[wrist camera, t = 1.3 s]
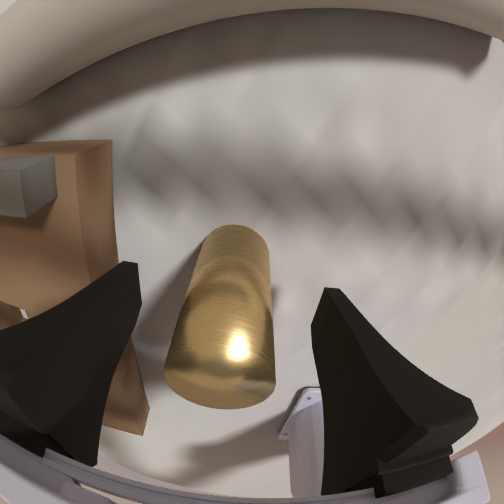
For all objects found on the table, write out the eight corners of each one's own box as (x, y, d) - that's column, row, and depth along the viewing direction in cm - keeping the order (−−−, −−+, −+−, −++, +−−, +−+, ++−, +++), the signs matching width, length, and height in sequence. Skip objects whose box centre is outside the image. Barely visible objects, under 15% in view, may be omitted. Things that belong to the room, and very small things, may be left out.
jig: (149, 408, 22) (138, 455, 17) (18, 363, 21) (-1, 397, 17) (112, 139, 11) (40, 171, 6) (-53, 155, 10) (-100, 181, 6)
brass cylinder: (263, 287, 14) (264, 412, 8) (199, 278, 14) (168, 400, 8) (274, 229, 13) (287, 355, 7) (202, 220, 13) (158, 338, 7)
